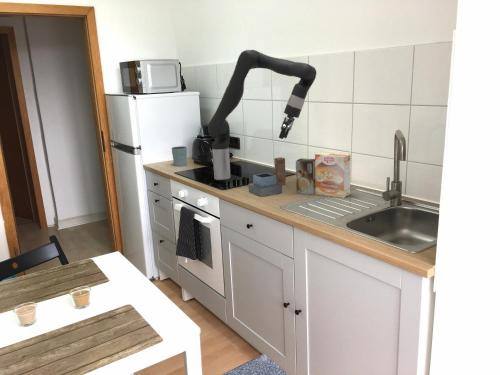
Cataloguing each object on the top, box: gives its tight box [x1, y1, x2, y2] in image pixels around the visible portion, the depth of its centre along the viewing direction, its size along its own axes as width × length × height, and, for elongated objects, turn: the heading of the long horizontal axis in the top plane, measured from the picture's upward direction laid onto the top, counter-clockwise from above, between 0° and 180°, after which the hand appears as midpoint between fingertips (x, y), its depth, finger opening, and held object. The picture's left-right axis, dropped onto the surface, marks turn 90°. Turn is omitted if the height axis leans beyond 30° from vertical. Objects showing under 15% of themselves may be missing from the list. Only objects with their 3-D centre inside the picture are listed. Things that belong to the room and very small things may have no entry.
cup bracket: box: [247, 172, 283, 198], centre depth 209 cm, size 12×12×8 cm
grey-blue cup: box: [171, 145, 188, 167], centre depth 284 cm, size 10×10×12 cm
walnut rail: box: [273, 156, 287, 186], centre depth 221 cm, size 4×4×14 cm
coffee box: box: [295, 158, 316, 195], centre depth 204 cm, size 9×6×16 cm
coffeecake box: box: [314, 151, 352, 199], centre depth 198 cm, size 15×7×20 cm, turn 53°
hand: (282, 138), depth 207 cm, fingers open, 8 cm apart
